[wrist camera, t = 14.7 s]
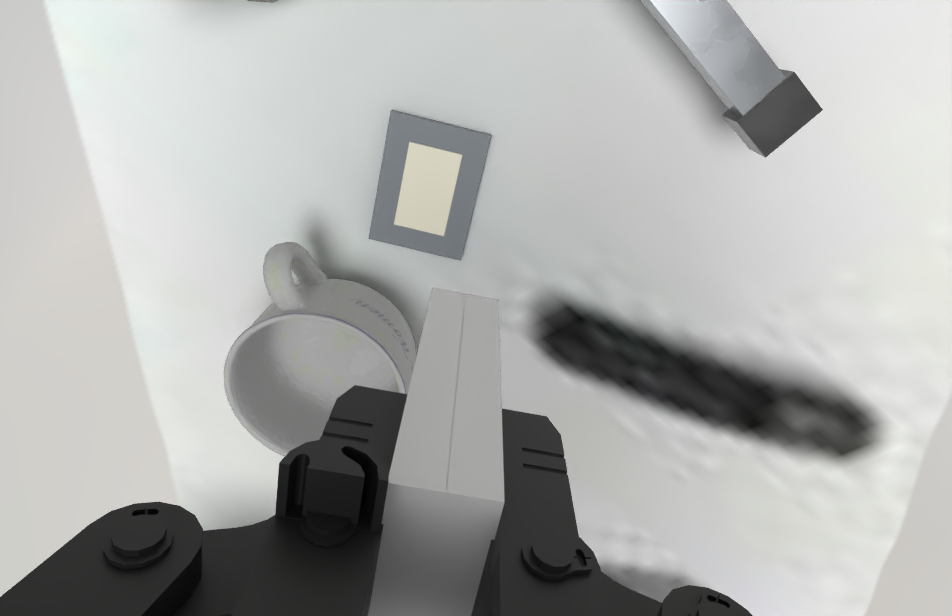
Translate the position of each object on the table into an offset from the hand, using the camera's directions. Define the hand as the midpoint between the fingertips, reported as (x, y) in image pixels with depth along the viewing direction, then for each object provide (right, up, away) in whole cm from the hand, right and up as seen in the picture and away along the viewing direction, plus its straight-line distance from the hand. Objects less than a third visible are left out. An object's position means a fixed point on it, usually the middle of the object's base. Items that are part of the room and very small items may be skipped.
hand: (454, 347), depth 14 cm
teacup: (-9, +1, +28) cm, 30 cm away
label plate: (-2, +8, +24) cm, 26 cm away
